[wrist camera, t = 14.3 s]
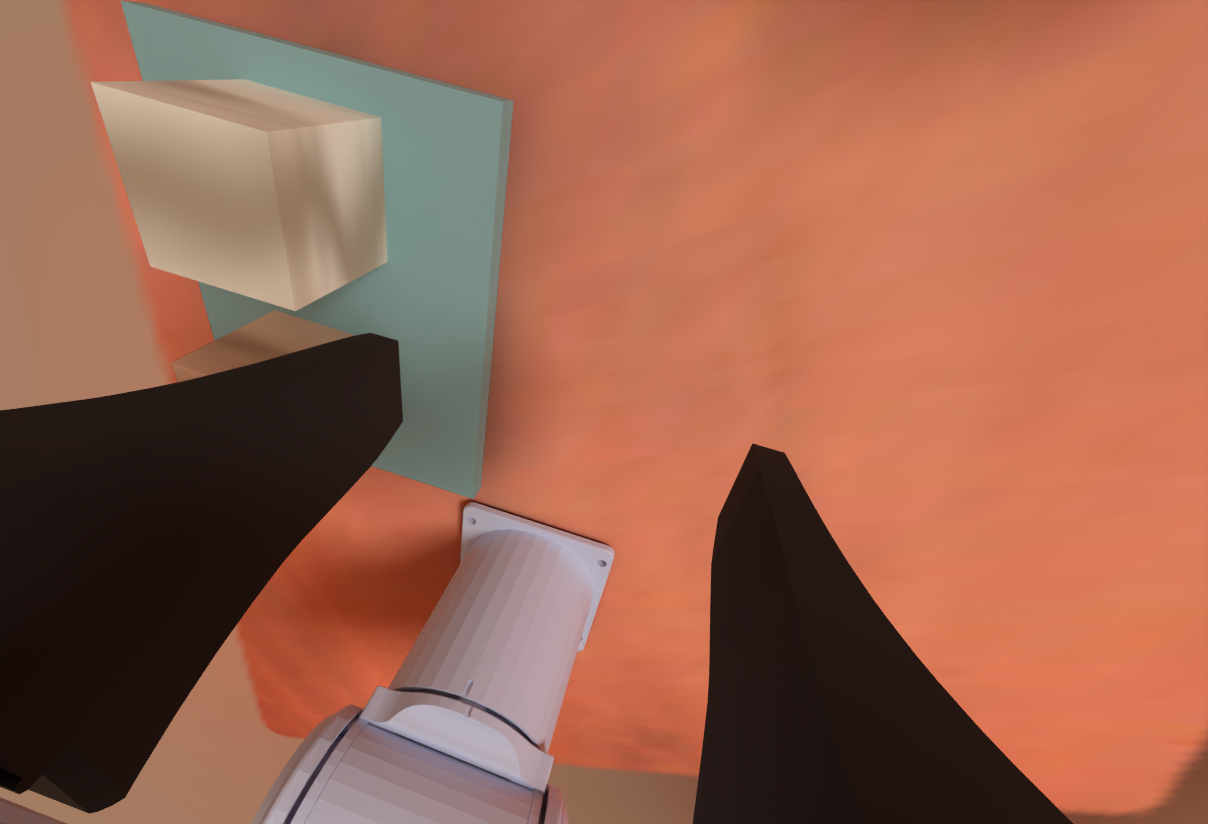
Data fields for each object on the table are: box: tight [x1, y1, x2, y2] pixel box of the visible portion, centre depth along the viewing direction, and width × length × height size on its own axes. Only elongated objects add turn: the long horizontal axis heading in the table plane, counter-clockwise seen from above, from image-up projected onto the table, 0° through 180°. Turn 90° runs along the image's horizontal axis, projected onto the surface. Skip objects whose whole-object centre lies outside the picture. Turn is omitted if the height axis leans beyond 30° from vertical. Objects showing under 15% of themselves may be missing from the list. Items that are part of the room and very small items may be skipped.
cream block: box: [91, 79, 387, 311], centre depth 15 cm, size 4×4×4 cm
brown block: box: [171, 310, 355, 382], centre depth 20 cm, size 4×4×4 cm
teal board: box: [121, 1, 514, 499], centre depth 20 cm, size 16×12×2 cm
